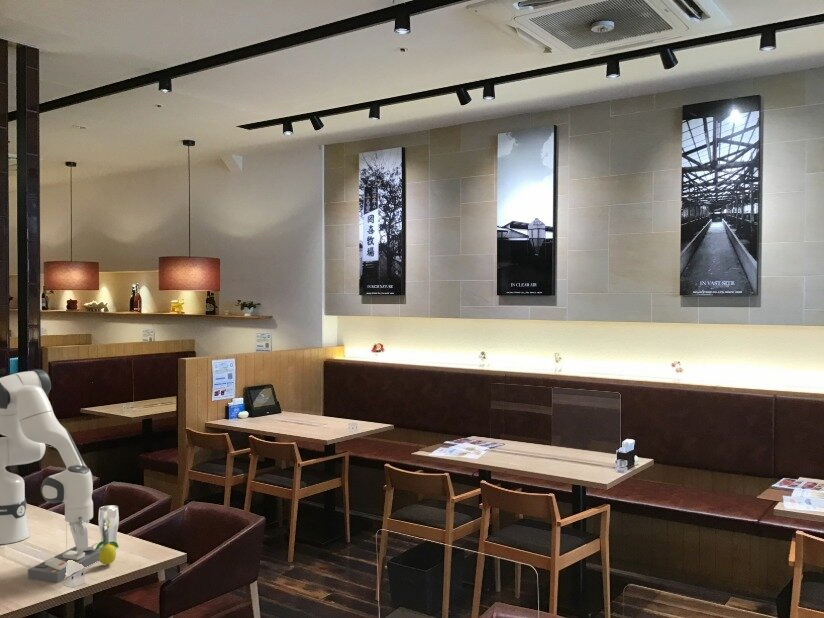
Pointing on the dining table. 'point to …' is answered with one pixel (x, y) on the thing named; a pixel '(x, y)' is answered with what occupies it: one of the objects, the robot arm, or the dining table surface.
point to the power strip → (55, 575)
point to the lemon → (107, 552)
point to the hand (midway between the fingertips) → (79, 553)
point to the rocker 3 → (91, 546)
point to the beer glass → (108, 523)
